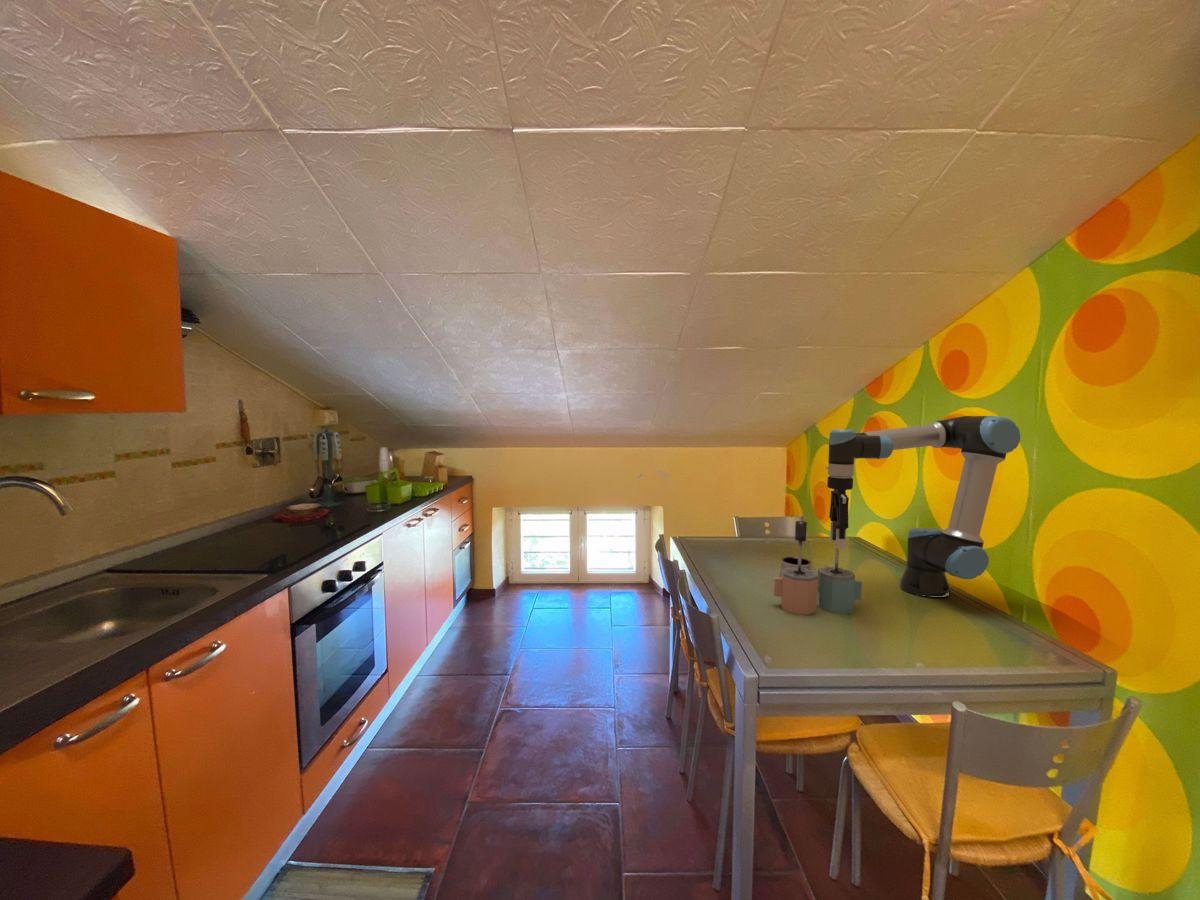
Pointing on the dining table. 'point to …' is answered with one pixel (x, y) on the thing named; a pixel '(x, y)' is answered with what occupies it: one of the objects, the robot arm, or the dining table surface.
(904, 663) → the dining table surface
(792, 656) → the dining table surface
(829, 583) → the pot teal
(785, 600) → the pot terracotta
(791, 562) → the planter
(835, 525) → the dark brown cylinder-topped rod
